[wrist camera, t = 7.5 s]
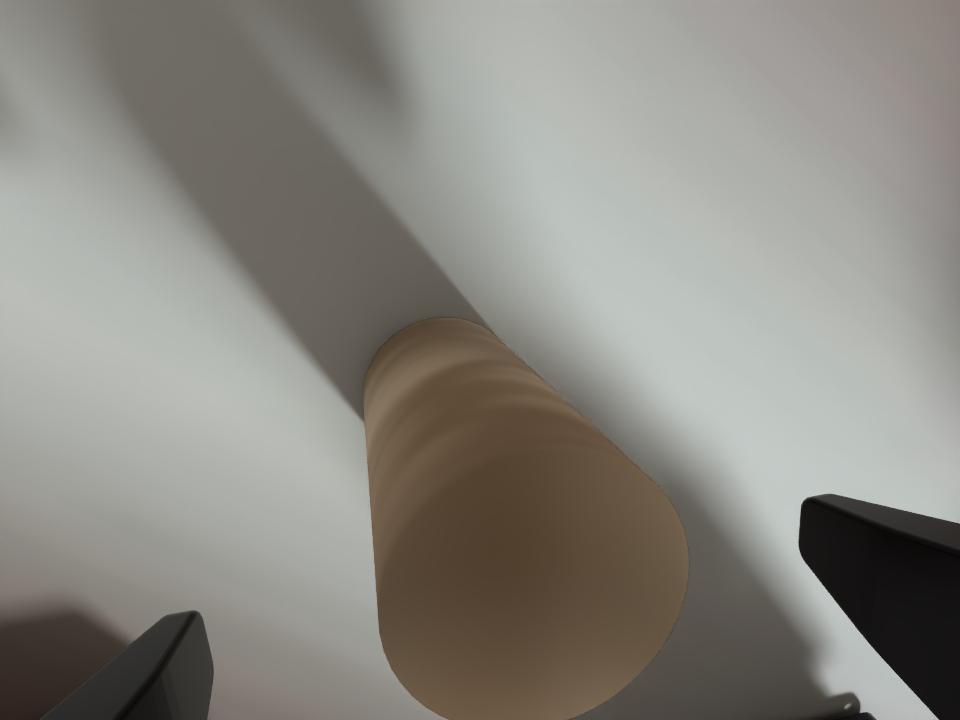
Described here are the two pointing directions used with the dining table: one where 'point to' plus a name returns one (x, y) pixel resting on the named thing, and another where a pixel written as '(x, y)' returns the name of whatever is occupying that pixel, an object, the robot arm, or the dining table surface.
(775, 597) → the dining table surface
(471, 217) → the dining table surface
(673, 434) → the dining table surface
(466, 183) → the dining table surface
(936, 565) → the robot arm
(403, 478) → the dowel
